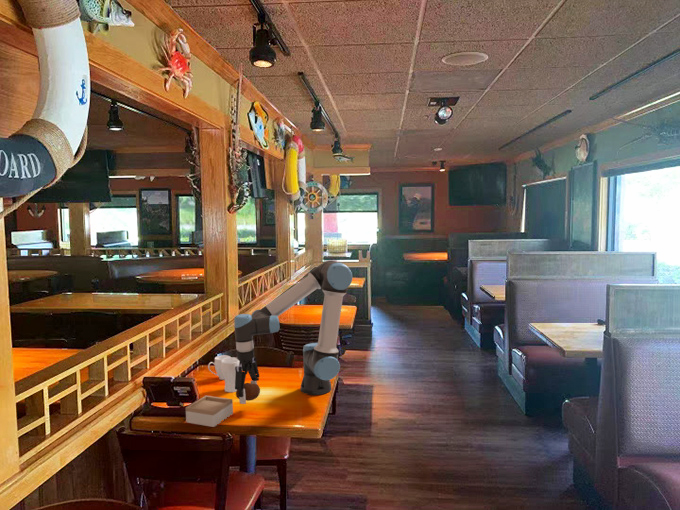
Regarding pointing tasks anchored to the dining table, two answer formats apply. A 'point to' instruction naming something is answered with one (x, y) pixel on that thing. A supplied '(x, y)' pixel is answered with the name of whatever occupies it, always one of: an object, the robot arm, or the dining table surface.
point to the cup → (229, 372)
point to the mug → (218, 365)
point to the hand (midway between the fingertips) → (248, 399)
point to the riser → (209, 411)
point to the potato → (250, 391)
